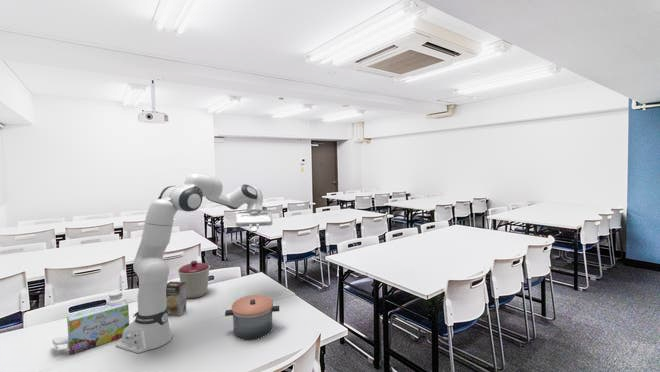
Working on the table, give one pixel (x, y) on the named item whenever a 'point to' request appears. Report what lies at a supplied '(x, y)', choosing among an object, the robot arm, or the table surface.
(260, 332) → the cooker pot
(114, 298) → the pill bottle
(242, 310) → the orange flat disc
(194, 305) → the table surface
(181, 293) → the coffee box
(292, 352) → the table surface
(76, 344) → the snack box
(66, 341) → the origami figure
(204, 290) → the canister
